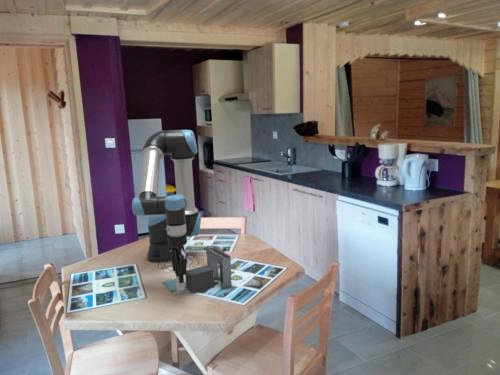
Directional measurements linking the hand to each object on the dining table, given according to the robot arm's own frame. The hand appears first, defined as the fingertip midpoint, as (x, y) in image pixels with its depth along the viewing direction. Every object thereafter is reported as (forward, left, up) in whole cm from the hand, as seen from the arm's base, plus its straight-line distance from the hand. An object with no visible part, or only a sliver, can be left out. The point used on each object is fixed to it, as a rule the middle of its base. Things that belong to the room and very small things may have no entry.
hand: (180, 289), depth 169 cm
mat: (-9, +2, -2) cm, 10 cm away
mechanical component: (-16, +26, -2) cm, 31 cm away
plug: (0, +9, -2) cm, 9 cm away
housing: (0, +18, -2) cm, 18 cm away
